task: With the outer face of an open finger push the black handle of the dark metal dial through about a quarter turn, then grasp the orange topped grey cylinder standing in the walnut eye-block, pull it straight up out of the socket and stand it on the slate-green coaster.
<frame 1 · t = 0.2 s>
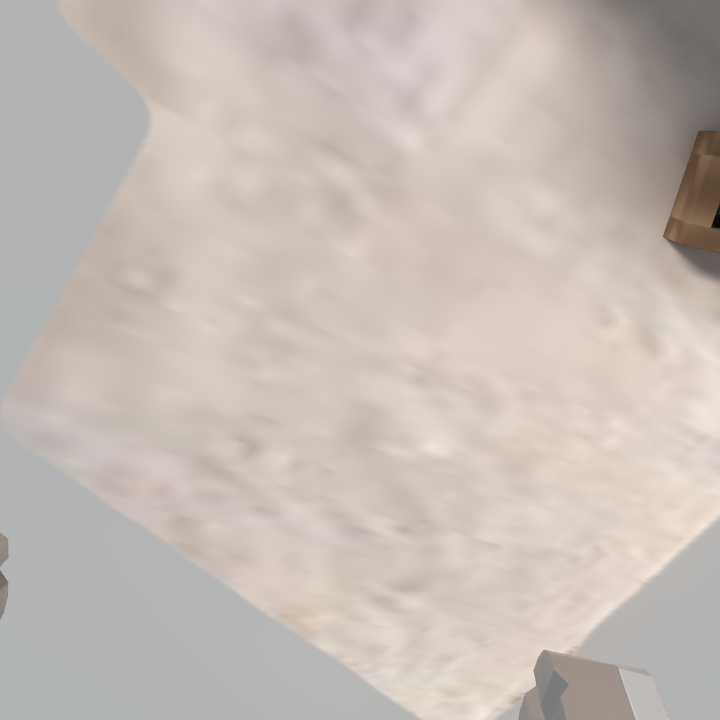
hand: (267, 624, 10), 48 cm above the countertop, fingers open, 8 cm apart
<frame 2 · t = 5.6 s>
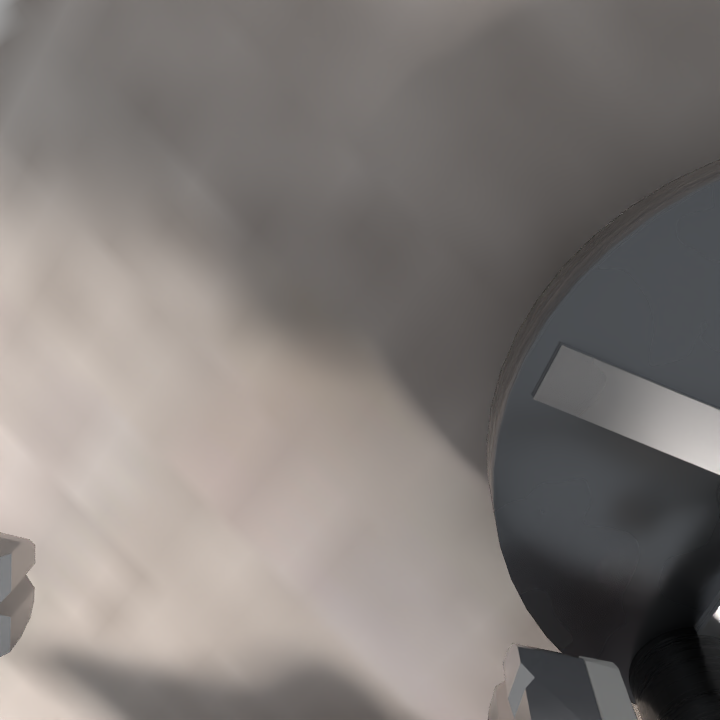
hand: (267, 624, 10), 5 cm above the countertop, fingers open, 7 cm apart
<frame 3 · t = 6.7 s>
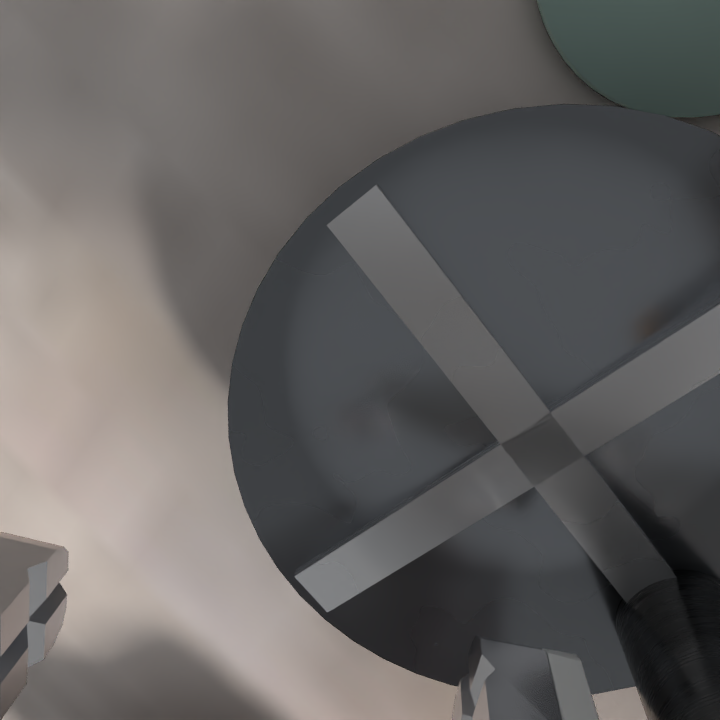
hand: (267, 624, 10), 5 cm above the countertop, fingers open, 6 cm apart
handwheel: (561, 508, 9), point 5 cm above the countertop, hinge at 64.9°, touching gripper
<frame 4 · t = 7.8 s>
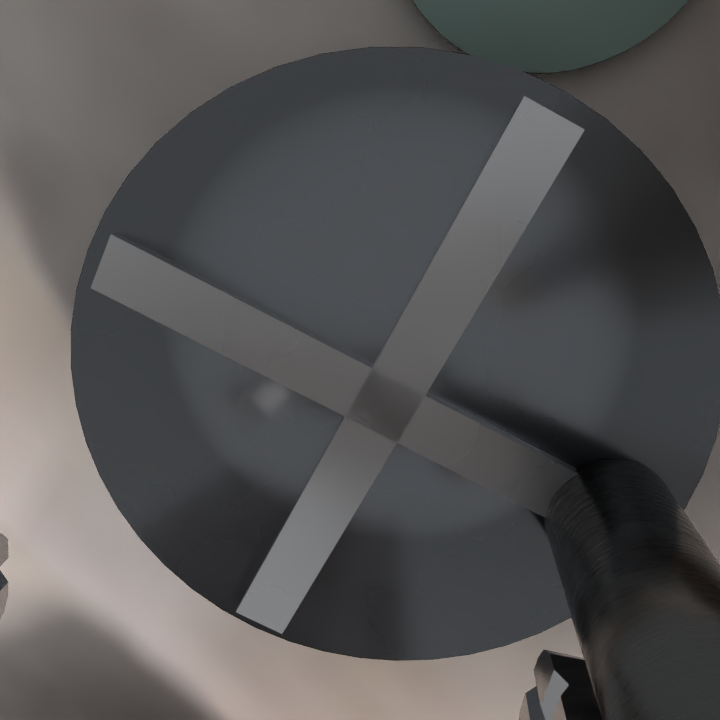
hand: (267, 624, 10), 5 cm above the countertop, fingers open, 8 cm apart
handwheel: (377, 458, 9), point 5 cm above the countertop, hinge at 88.8°
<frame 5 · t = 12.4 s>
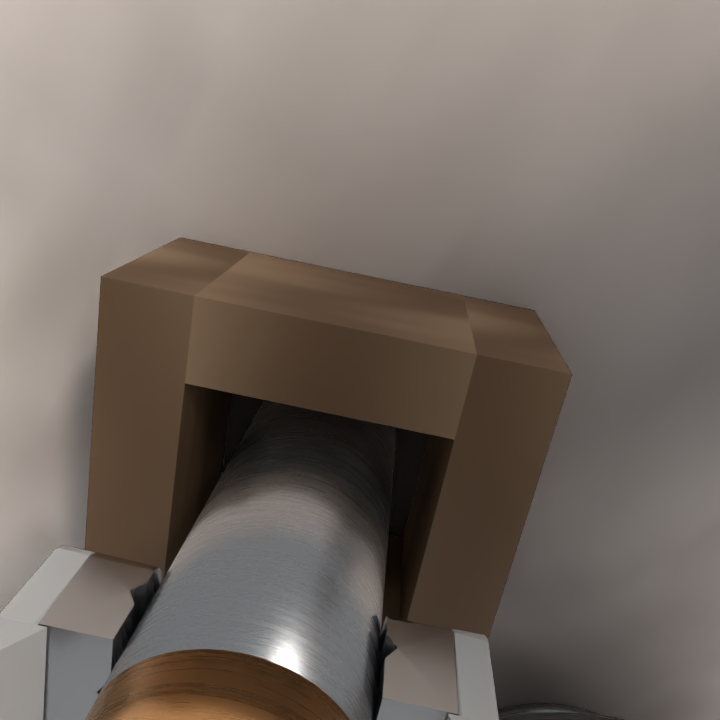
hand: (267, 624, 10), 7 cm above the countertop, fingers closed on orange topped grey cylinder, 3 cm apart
orange topped grey cylinder: (325, 434, 17), resting in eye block, touching gripper
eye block: (326, 434, 17), on the countertop
when the fingers open (8 cm above the countertop, at t = 18.0 s): orange topped grey cylinder stays where it is, resting on coaster.
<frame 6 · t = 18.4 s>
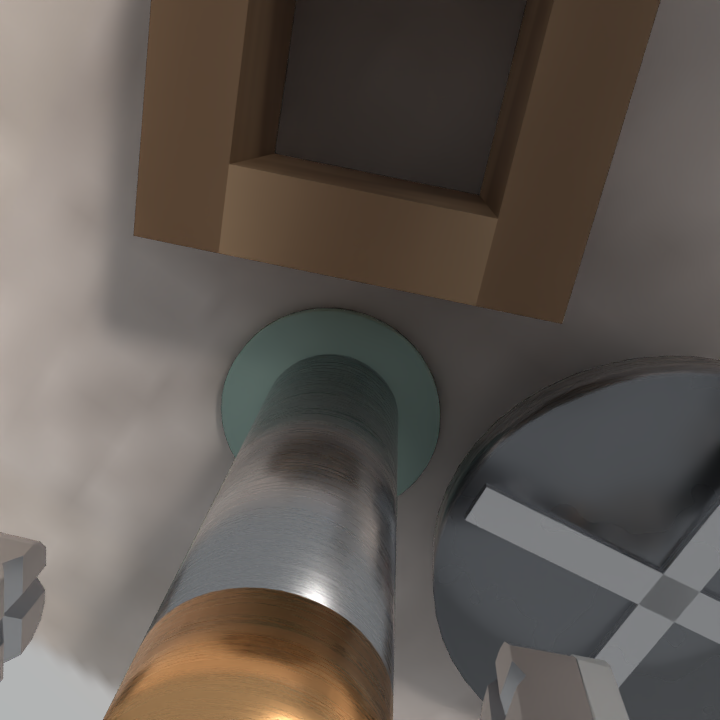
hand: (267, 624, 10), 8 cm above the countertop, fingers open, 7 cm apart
handwheel: (699, 657, 13), point 5 cm above the countertop, hinge at 89.2°
orange topped grey cylinder: (331, 417, 17), resting on coaster
coaster: (331, 412, 18), on the countertop
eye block: (398, 62, 15), on the countertop
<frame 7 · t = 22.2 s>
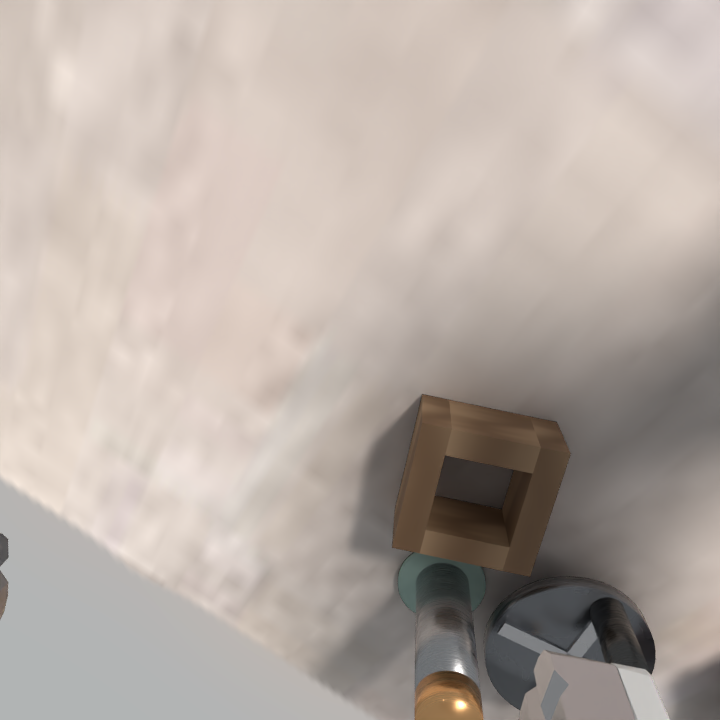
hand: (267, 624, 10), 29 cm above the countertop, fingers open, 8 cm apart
handwheel: (575, 682, 40), point 5 cm above the countertop, hinge at 89.2°
orange topped grey cylinder: (442, 585, 44), resting on coaster
coaster: (441, 581, 44), on the countertop
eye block: (472, 467, 41), on the countertop
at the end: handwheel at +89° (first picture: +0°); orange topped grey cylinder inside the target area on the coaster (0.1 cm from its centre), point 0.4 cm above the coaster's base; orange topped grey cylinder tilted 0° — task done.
